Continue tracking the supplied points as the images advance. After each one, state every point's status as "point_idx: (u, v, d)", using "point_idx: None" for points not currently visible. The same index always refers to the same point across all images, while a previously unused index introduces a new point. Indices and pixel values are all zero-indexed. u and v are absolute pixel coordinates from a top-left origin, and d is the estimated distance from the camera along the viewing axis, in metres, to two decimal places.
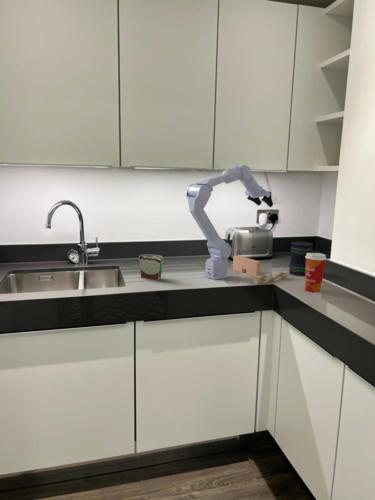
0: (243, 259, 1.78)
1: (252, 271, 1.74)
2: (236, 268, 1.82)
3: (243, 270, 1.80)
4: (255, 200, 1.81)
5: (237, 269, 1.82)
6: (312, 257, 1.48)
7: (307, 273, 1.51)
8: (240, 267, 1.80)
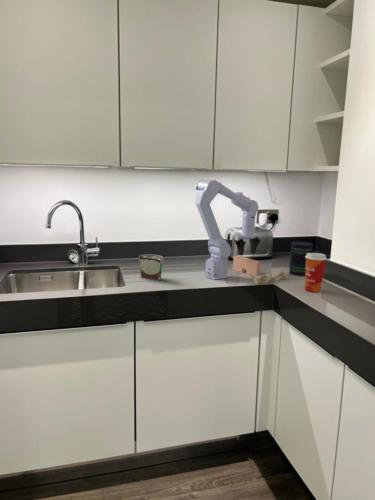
0: (243, 259, 1.78)
1: (252, 271, 1.74)
2: (236, 268, 1.82)
3: (243, 270, 1.80)
4: (251, 245, 1.79)
5: (237, 269, 1.82)
6: (312, 257, 1.48)
7: (307, 273, 1.51)
8: (240, 267, 1.80)
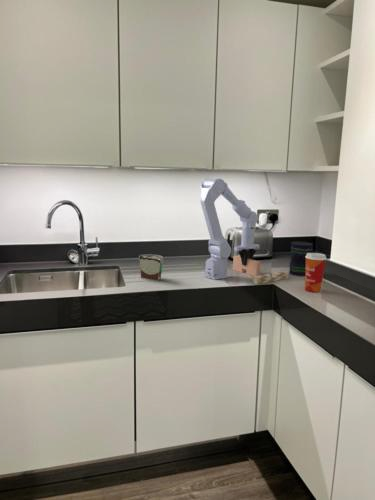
0: None
1: (252, 271, 1.74)
2: (236, 268, 1.82)
3: (243, 270, 1.80)
4: None
5: (237, 269, 1.82)
6: (312, 257, 1.48)
7: (307, 273, 1.51)
8: (240, 267, 1.80)
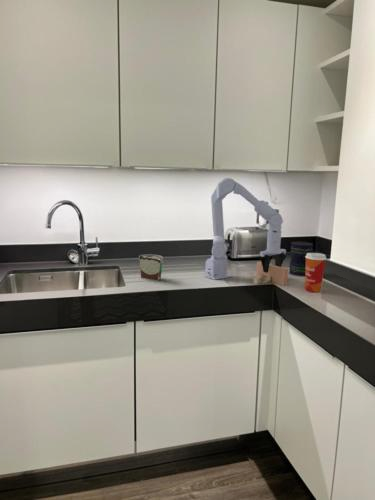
0: None
1: (279, 279, 1.61)
2: None
3: None
4: (276, 261, 1.67)
5: None
6: (312, 257, 1.48)
7: (307, 273, 1.51)
8: None
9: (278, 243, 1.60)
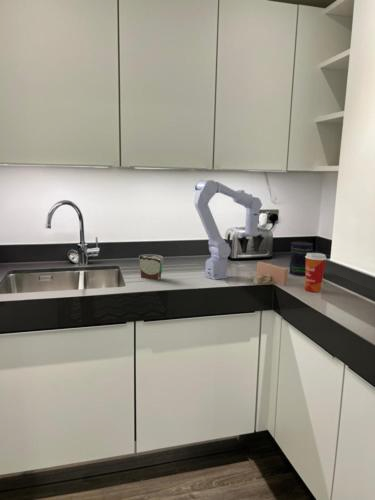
0: (268, 266, 1.65)
1: (279, 279, 1.61)
2: None
3: None
4: (254, 243, 1.77)
5: None
6: (312, 257, 1.48)
7: (307, 273, 1.51)
8: None
9: (255, 225, 1.71)
